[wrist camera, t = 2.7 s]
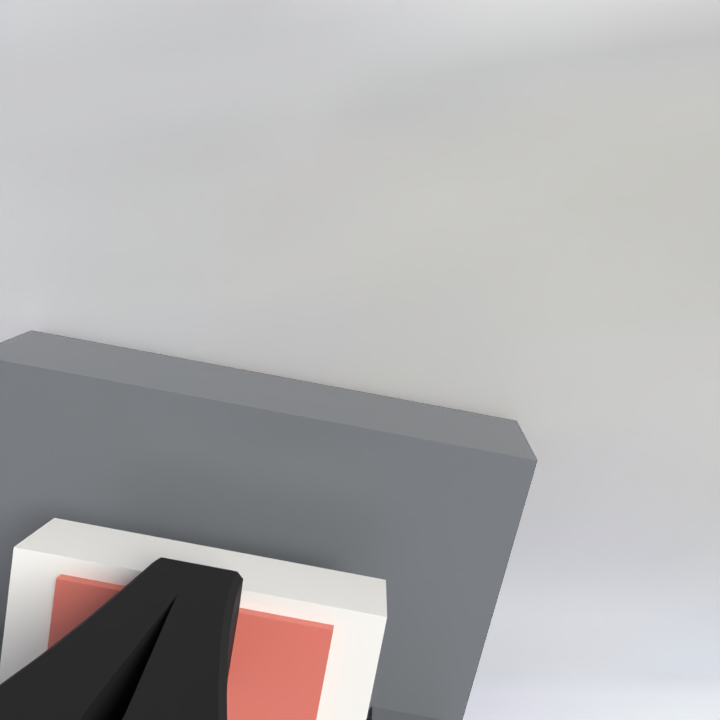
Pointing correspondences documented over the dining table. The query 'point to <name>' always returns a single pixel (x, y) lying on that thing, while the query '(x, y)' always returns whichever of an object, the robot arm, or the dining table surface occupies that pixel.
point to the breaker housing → (276, 488)
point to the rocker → (254, 624)
